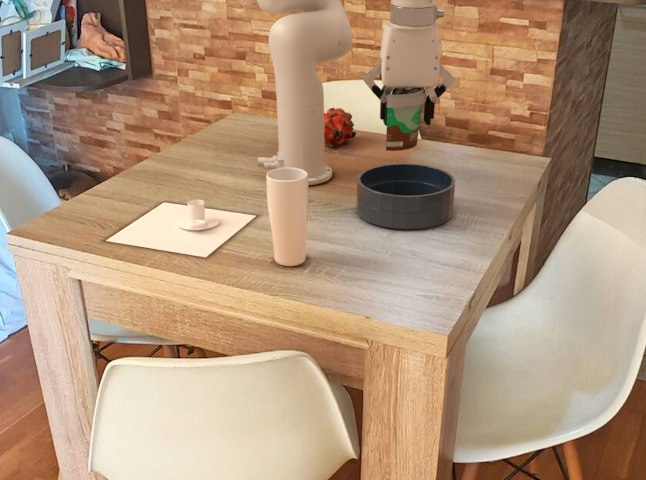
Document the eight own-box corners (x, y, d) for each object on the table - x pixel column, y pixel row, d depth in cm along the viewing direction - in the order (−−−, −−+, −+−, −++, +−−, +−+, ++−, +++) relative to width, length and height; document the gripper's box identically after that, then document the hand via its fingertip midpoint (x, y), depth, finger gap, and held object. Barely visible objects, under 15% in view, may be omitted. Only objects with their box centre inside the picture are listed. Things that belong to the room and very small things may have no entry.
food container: (419, 155, 144) (423, 97, 138) (384, 153, 145) (387, 95, 139) (426, 134, 154) (430, 79, 148) (394, 132, 155) (397, 77, 149)
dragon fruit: (337, 141, 199) (340, 164, 190) (308, 122, 195) (310, 144, 186) (358, 113, 195) (363, 135, 186) (329, 93, 191) (333, 115, 182)
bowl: (362, 232, 148) (362, 198, 145) (352, 196, 163) (352, 164, 160) (461, 229, 149) (464, 195, 146) (442, 193, 165) (444, 162, 161)
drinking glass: (269, 253, 141) (265, 167, 132) (309, 251, 141) (307, 166, 133) (270, 270, 135) (265, 181, 127) (311, 268, 135) (309, 180, 127)
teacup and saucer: (205, 236, 147) (203, 214, 144) (166, 230, 149) (163, 209, 147) (227, 219, 153) (226, 198, 151) (190, 213, 156) (187, 192, 153)
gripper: (458, 12, 141) (449, 116, 151) (358, 12, 140) (356, 117, 150) (468, 20, 135) (458, 129, 145) (363, 20, 134) (360, 130, 144)
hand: (406, 122), depth 147 cm, fingers closed on food container, 6 cm apart
